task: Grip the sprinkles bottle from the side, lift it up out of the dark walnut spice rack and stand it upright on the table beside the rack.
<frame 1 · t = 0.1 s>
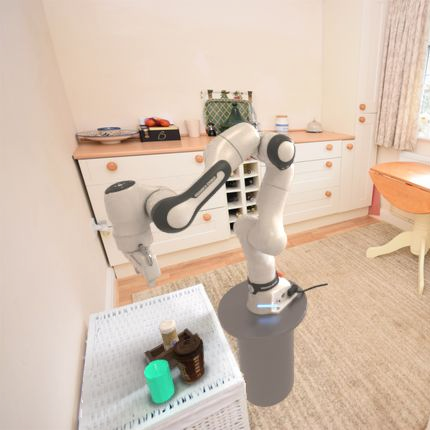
hand: (145, 278, 87), 29 cm above the counter, tool pointing down, fingers open, 8 cm apart
candle: (163, 393, 85), on the counter
sprinkles bottle: (174, 354, 97), resting in spice rack
coffee cup: (194, 374, 91), on the counter
spice rack: (174, 354, 97), on the counter
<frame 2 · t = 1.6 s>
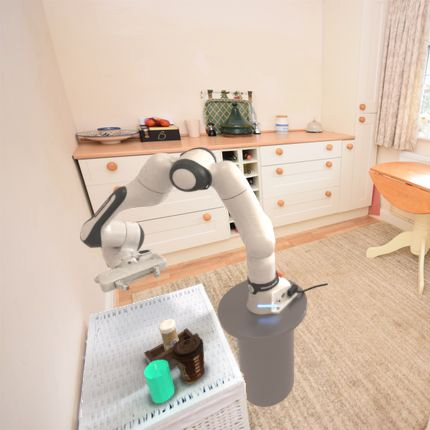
hand: (143, 282, 96), 22 cm above the counter, tool horizontal, fingers open, 8 cm apart
nothing on the counter moved.
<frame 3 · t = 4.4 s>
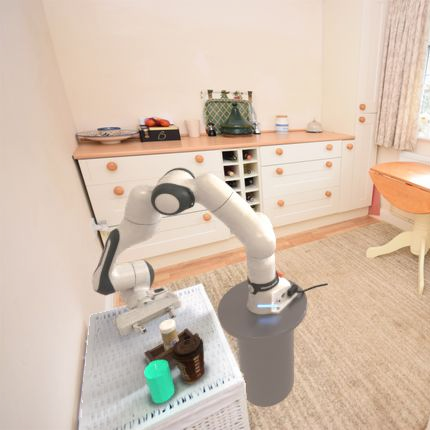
hand: (159, 323, 99), 8 cm above the counter, tool horizontal, fingers open, 8 cm apart
nothing on the counter moved.
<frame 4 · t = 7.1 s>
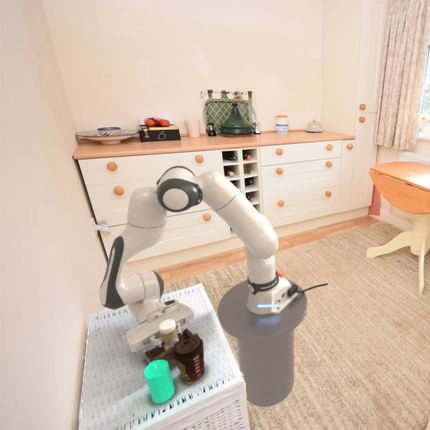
hand: (171, 339, 93), 8 cm above the counter, tool horizontal, fingers closed on sprinkles bottle, 4 cm apart
sprinkles bottle: (174, 354, 97), resting in spice rack, touching gripper
everything else where it was.
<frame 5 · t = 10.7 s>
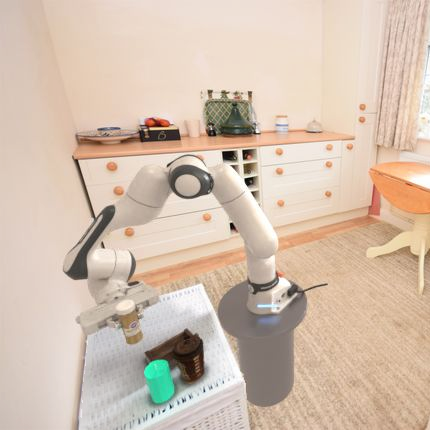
hand: (130, 321, 84), 19 cm above the counter, tool horizontal, fingers closed on sprinkles bottle, 4 cm apart
sprinkles bottle: (135, 339, 88), point 11 cm above the counter, touching gripper
everything else where it was.
when the fingers open (7 cm above the counter, at t = 14.7 s): sprinkles bottle stays where it is, on the counter.
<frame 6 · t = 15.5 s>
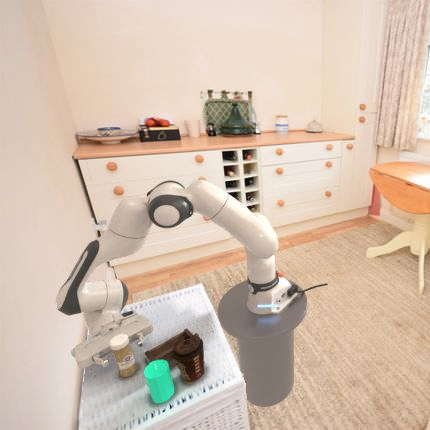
hand: (124, 354, 87), 8 cm above the counter, tool horizontal, fingers open, 8 cm apart
sprinkles bottle: (129, 371, 91), on the counter
everything else where it was.
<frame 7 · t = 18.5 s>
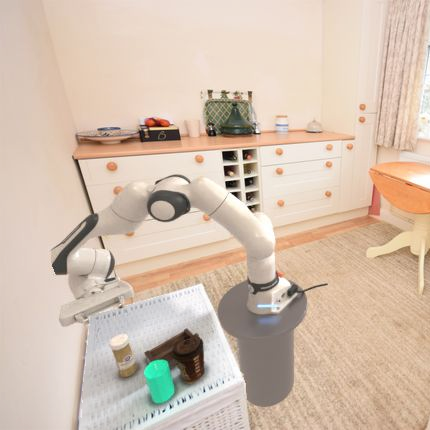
hand: (104, 314, 92), 15 cm above the counter, tool horizontal, fingers open, 8 cm apart
nothing on the counter moved.
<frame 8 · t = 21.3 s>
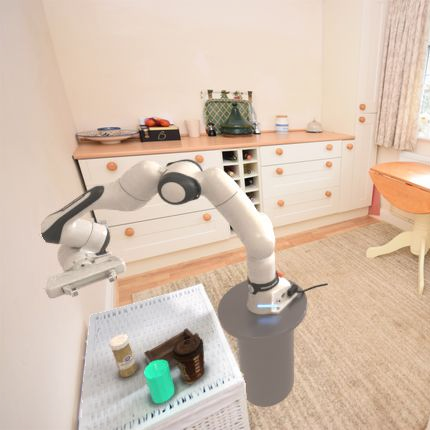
hand: (94, 286, 87), 26 cm above the counter, tool horizontal, fingers open, 8 cm apart
nothing on the counter moved.
at the end: sprinkles bottle inside the target area (0.1 cm from its centre), on the counter; sprinkles bottle tilted 0°; the gripper is holding nothing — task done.
